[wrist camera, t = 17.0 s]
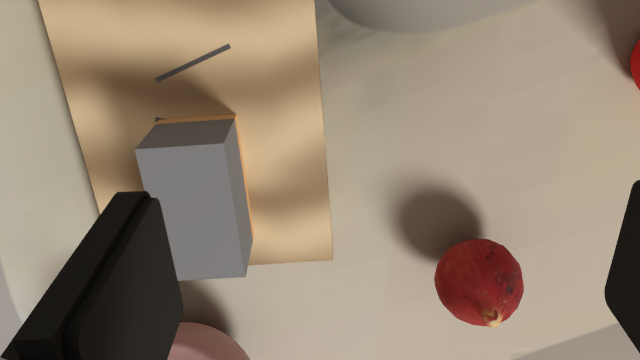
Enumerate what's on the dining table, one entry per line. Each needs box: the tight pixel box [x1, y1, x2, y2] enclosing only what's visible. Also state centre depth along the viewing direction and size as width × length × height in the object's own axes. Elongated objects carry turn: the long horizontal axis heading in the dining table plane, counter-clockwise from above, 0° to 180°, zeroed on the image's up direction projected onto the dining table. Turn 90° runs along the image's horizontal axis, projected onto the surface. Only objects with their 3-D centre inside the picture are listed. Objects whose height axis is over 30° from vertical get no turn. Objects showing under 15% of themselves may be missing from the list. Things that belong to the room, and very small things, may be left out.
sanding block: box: [135, 114, 254, 281], centre depth 33 cm, size 9×5×5 cm, turn 4°
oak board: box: [38, 0, 333, 265], centre depth 33 cm, size 28×16×2 cm, turn 4°
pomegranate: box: [434, 239, 524, 328], centre depth 36 cm, size 6×6×8 cm
